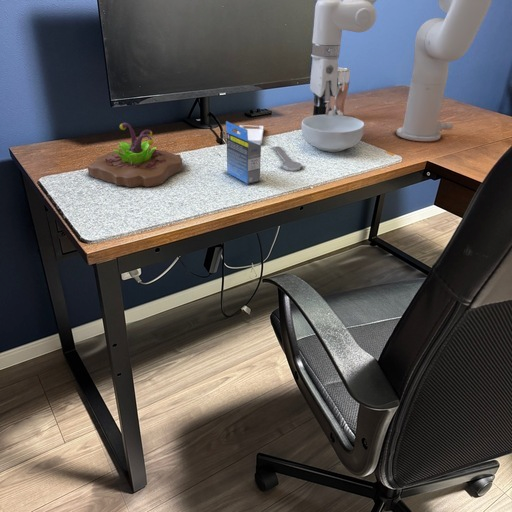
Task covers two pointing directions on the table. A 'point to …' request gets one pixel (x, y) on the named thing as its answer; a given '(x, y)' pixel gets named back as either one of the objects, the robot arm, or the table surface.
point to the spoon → (287, 161)
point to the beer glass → (339, 93)
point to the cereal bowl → (332, 131)
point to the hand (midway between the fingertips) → (318, 119)
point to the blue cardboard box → (242, 155)
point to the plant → (136, 163)
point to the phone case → (254, 134)
